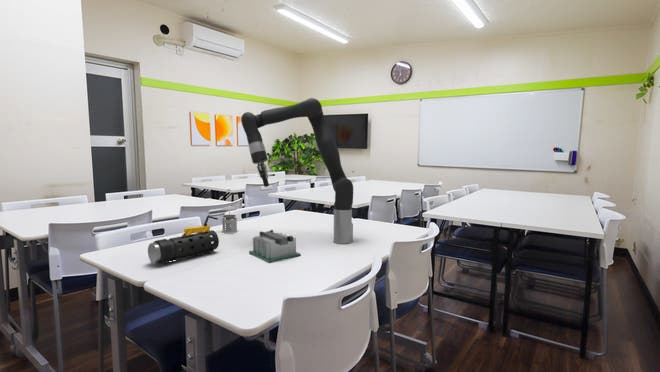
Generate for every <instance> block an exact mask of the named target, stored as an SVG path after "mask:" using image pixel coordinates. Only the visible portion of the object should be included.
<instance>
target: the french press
mask: <svg viewBox="0 0 660 372" xmlns="http://www.w3.org/2000/svg"><path fill="white" fill-rule="evenodd" d="M226 192H231V189H229V188H228V189H227V190H226ZM221 210H222V211H221V212H220V214H219V215H220V217H219V219H220V220H221V223H222V231H221V232H222V233H224V234H231V235H235V234H234V233H237V232H239V231H238V230H237V229H238V225H237V224H238V222H237V221H238V218H237V216H236V214H230V213H231V212H232V211H237V207H235V206H234V205H233V206H231V205H230V204H228V206H225V207H223V208H221ZM222 212H223V213H222ZM227 212H228V214H226V213H227ZM222 214H223V215H222ZM224 234H223V235H224ZM237 234H238V233H237Z"/></svg>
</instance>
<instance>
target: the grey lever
mask: <svg viewBox="0 0 660 372" xmlns="http://www.w3.org/2000/svg"><path fill="white" fill-rule="evenodd" d="M262 232H263V235H266V236H268V237H271V238H274V239H275V238H280V239H281V244H279V245H280V246H281V245H286V244H288V238H287V237H285V236H282V235H279V234H276V233H277V232H274V231H273V232H271V231H270V230H269V231H262Z"/></svg>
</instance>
